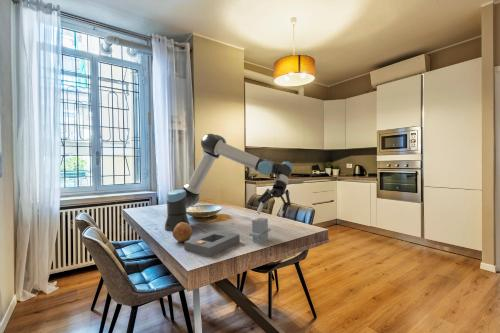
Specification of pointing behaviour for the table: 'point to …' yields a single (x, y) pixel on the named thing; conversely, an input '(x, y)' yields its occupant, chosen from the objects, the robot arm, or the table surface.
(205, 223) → the table surface
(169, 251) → the table surface
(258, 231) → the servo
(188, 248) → the pocket block
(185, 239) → the onion
